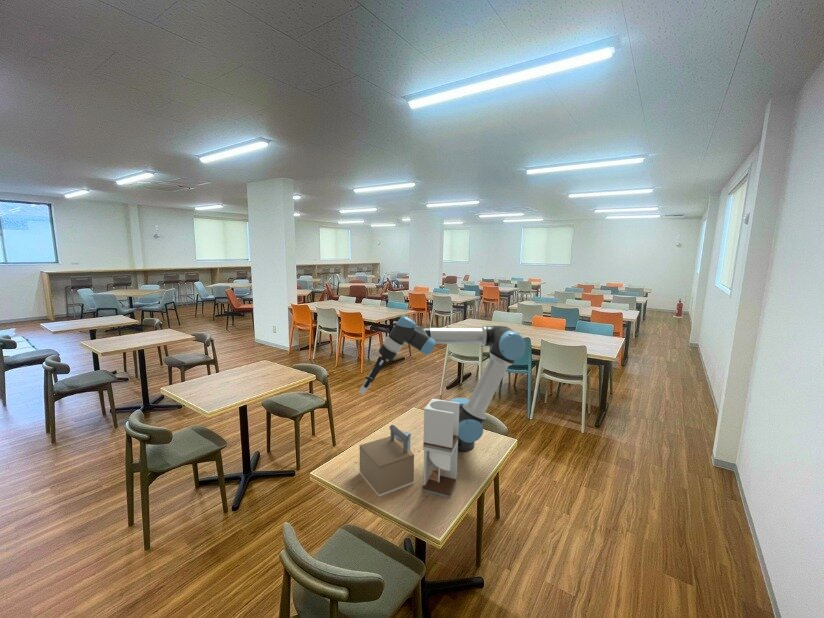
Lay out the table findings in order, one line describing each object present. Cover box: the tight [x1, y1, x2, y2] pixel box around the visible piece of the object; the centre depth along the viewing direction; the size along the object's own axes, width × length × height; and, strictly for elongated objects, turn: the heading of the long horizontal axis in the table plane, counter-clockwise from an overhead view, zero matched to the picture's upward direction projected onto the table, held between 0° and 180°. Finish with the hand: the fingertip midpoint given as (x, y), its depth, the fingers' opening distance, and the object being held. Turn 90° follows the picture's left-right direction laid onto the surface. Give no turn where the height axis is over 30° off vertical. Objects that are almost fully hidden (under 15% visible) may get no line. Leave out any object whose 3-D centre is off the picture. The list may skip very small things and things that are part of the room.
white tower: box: [421, 398, 460, 499], centre depth 144 cm, size 11×11×35 cm
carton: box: [359, 447, 415, 498], centre depth 151 cm, size 16×18×12 cm
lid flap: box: [359, 424, 415, 468], centre depth 149 cm, size 16×18×8 cm
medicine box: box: [394, 430, 412, 451], centre depth 173 cm, size 8×4×9 cm, turn 62°
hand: (363, 388), depth 158 cm, fingers open, 13 cm apart
